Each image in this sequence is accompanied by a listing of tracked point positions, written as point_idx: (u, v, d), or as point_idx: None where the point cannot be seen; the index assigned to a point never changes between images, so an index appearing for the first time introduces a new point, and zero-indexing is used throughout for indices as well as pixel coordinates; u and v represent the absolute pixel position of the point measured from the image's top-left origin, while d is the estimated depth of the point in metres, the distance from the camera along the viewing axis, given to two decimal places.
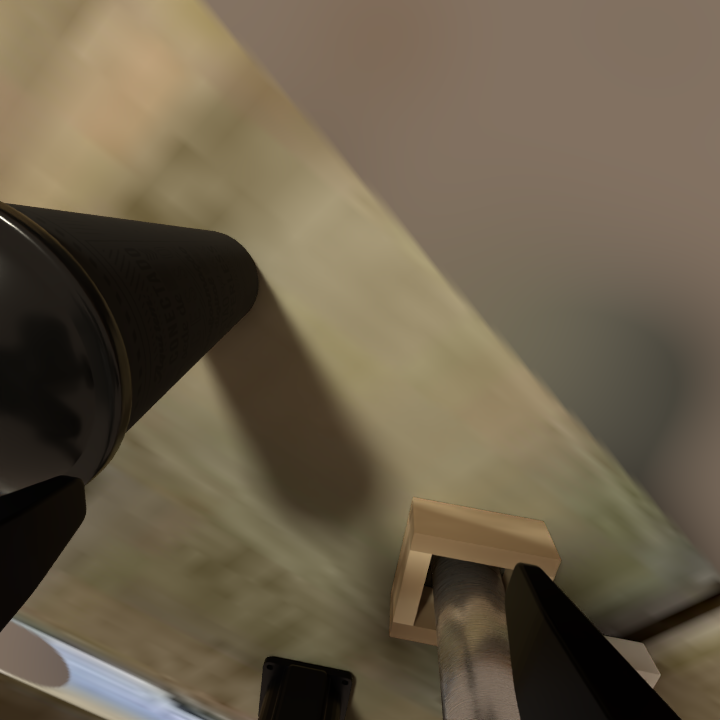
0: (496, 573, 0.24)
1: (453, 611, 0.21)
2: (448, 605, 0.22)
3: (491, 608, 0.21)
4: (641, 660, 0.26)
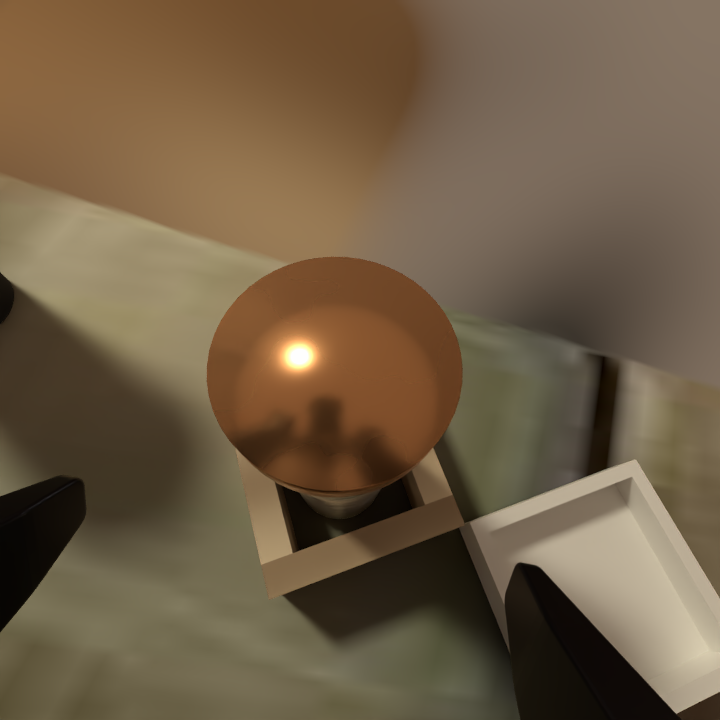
0: None
1: None
2: None
3: None
4: (611, 468, 0.20)
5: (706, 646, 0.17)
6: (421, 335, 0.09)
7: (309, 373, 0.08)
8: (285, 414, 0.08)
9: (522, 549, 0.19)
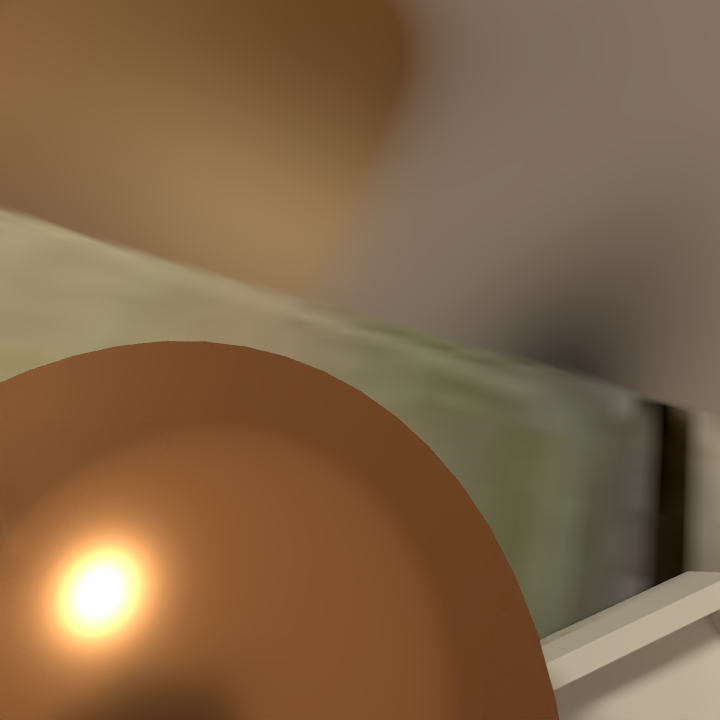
0: None
1: None
2: None
3: None
4: (696, 581, 0.13)
5: None
6: (419, 626, 0.03)
7: None
8: None
9: (573, 714, 0.12)
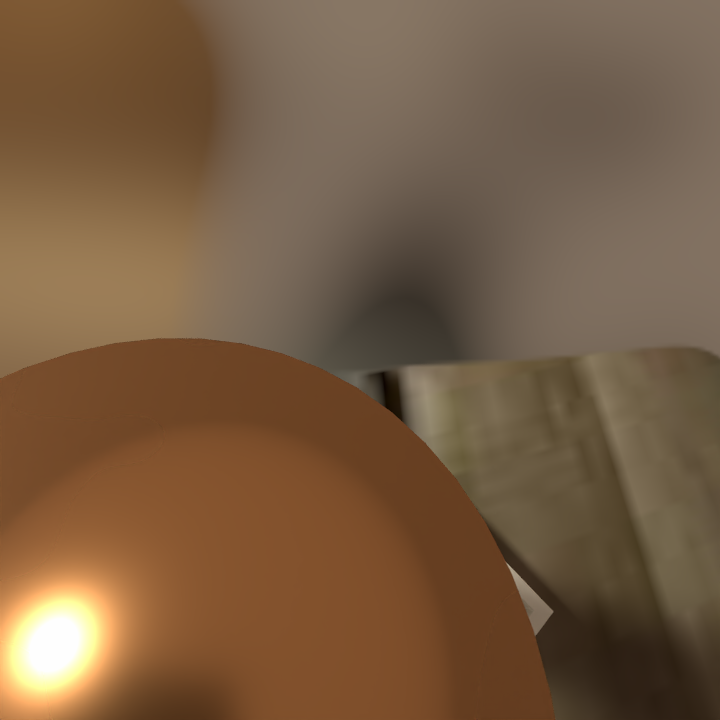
0: None
1: None
2: None
3: None
4: None
5: None
6: (415, 621, 0.03)
7: None
8: None
9: None
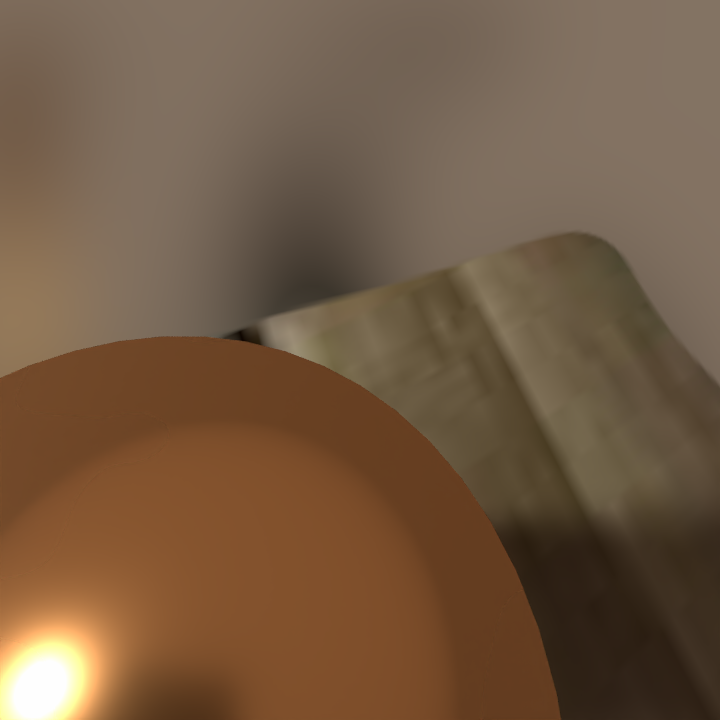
0: None
1: None
2: None
3: None
4: None
5: None
6: (420, 619, 0.03)
7: None
8: None
9: None
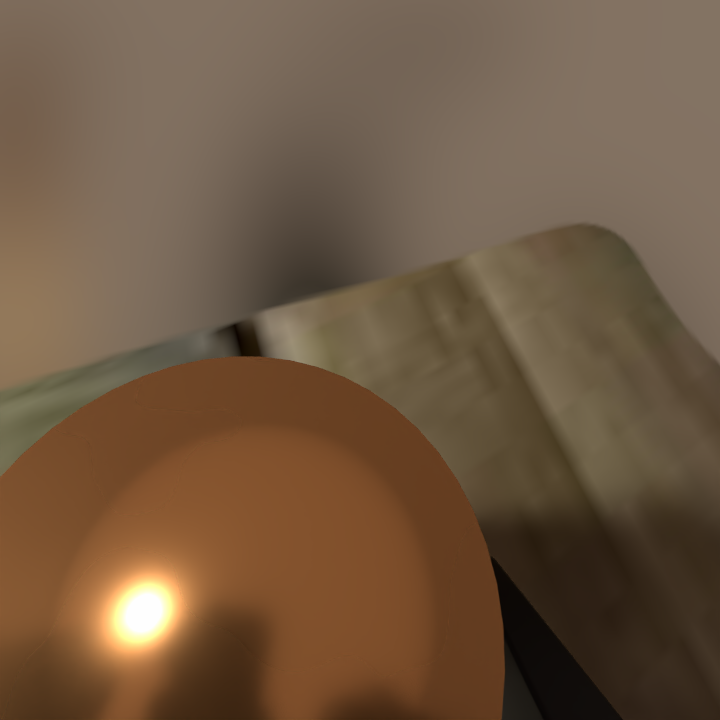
0: None
1: None
2: None
3: None
4: None
5: None
6: (410, 539, 0.04)
7: (147, 655, 0.04)
8: None
9: None
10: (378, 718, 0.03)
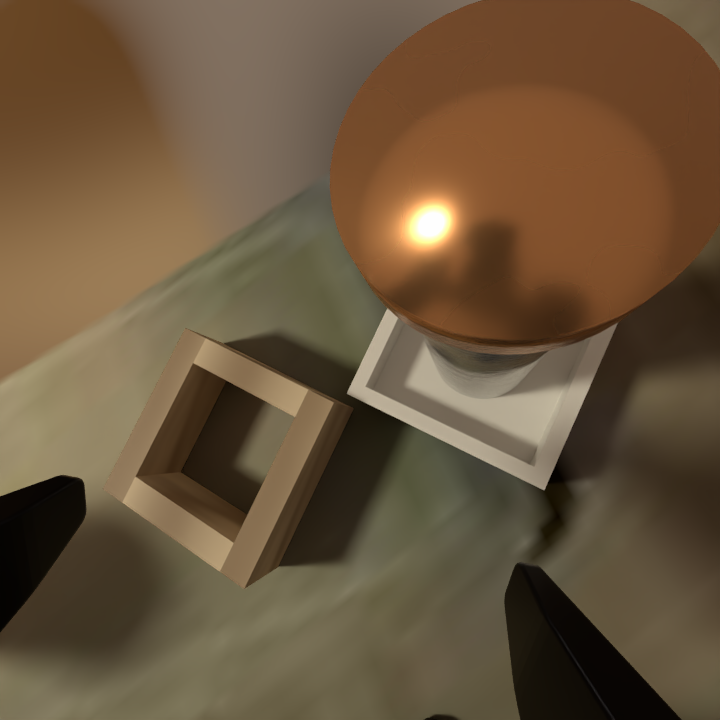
0: None
1: None
2: None
3: None
4: None
5: None
6: (648, 77, 0.05)
7: (476, 182, 0.06)
8: (455, 247, 0.06)
9: (411, 370, 0.19)
10: (643, 177, 0.05)
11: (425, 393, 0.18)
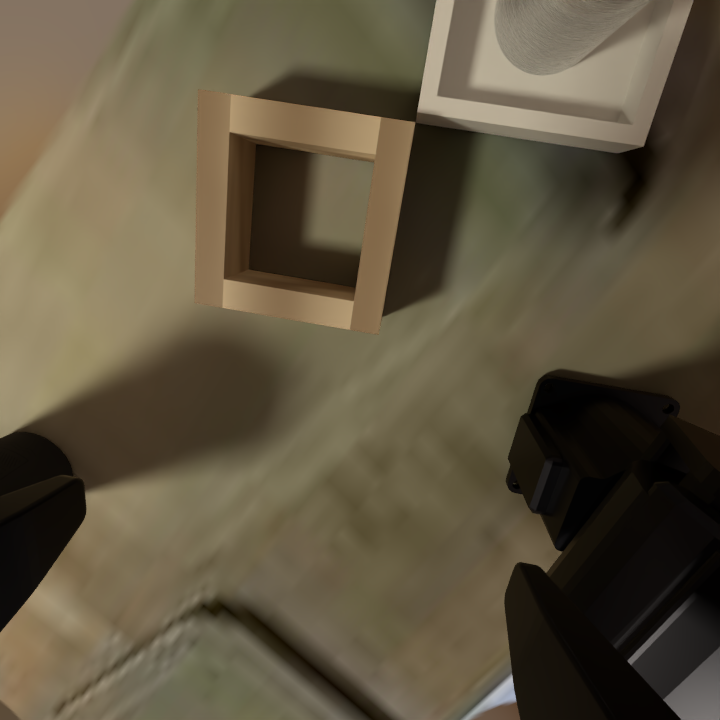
0: None
1: None
2: None
3: None
4: None
5: None
6: None
7: None
8: None
9: (473, 64, 0.16)
10: None
11: (494, 88, 0.16)
